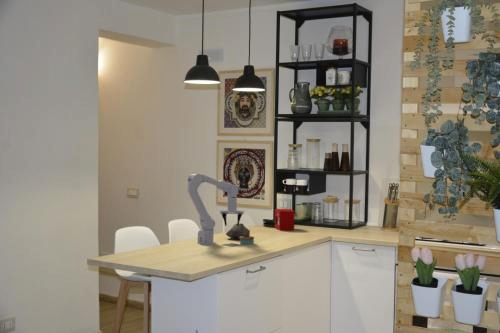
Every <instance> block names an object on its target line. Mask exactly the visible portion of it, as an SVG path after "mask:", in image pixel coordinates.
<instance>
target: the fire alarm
mask: <svg viewBox="0 0 500 333" xmlns="http://www.w3.org/2000/svg"><path fill="white" fill-rule="evenodd" d="M274 228H275V229H277V230H278V231H279V232H280V231H281V232H284V231H294V230H295V211H294V209H292V208H275V209H274Z"/></svg>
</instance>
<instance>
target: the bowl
mask: <svg viewBox="0 0 500 333" xmlns="http://www.w3.org/2000/svg"><path fill="white" fill-rule="evenodd" d="M254 239H255V238H254ZM254 239H252V240H243V239H240V240H239V243H240V245H242V246H244V245H245V246H247V245H248V246H250V245H251V246H252V245H254Z"/></svg>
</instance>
